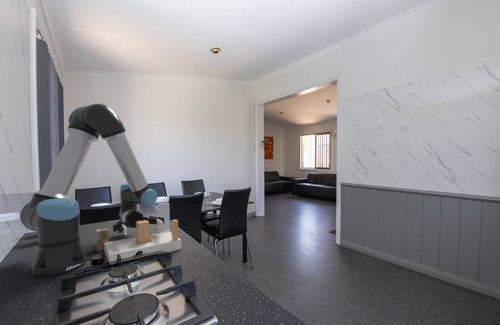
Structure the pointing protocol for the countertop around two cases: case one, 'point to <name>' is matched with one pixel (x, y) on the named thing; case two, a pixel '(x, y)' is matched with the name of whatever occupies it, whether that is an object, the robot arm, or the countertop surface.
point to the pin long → (164, 216)
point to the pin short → (101, 238)
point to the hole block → (144, 244)
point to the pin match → (142, 232)
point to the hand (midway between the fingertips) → (144, 228)
